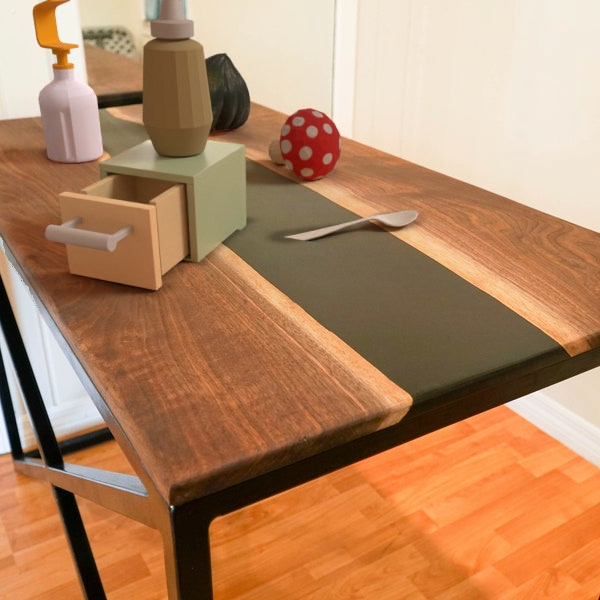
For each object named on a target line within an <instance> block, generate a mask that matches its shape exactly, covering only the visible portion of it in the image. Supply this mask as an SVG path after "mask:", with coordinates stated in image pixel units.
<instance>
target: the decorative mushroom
mask: <svg viewBox="0 0 600 600" xmlns="http://www.w3.org/2000/svg"><path fill="white" fill-rule="evenodd" d="M341 151H342V138H341V133H340V131H339V129H338V127H337V125H336V124H335V122H334V121H333V120H332V118H331V117H329V116H328V115H327V114H326V113H325V112H323V111H320V110H317V109H314V108H311V107H309V108H300V109H297V110H296V111H295V112H293V113H292V114H290V115H289V116H288V117H287V118H286V120H285V122H284V124H283V126H282V127H281V129H280V135H279V137H277V138H274V139H273V140H271V142H270V144H269V146H268V156H269V158H270V159H271V161H272V162H273V163H275V164H277V165H284V164H285V165H286V167H287V169H288V170H289V171H291V172H292V173H293V174H295V176H297V177H299V178H301V179H305V180H308V181H315V180H320V179H323V178H325V176H327V175H328V174H330V173H331V172H332V171H334V169H335V167H336V166H337V163H338V161H339V160H340V156H341Z"/></svg>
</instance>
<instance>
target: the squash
mask: <svg viewBox="0 0 600 600" xmlns="http://www.w3.org/2000/svg"><path fill="white" fill-rule="evenodd" d="M205 64H206V71H207V79H208V86H209V93H210V100H211V108H212V115H213V121H212V125H211V128H210V132H209V134H210V133H213V132H214V131H215V130H216V131H219V132H220V131H226V130H227V131H233V130H237V129H239V128H241V127H242V126H244V125H245V124H246V122H247V121H248V119H249V116H250V112H251V96H250V91H249V87H248V85H247V83H246V81H245V78H244V77H243V75H242V74H241V73H240V71H239V70H238V69H237V67H236V66H235V64H234V62H233V61H232V59H231V58H230V57H229V55H228V53H227V52H223V53H216V54H212V55H210V56H208V57H206V58H205Z"/></svg>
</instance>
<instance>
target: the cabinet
mask: <svg viewBox="0 0 600 600" xmlns="http://www.w3.org/2000/svg"><path fill="white" fill-rule="evenodd" d="M246 158H247V157H246V144H245V143H244V144H242V143H236V142H228V141H219V140H212V139H207V143H206V146H205V150H204V151H203V152H201V153H199V154H195V155H191V156H167V155H162V154H159V153H157V152H156V151H155V150H154V147H153V145H152V143H151V140H150V139H147V140H145V141H144V142H141V143H139V144H136V145H135V146H133V147H130V148H128V149H126V150H124V151H122V152H120V153H118V154H115V155H114V156H111V157H109V158H107V159H105V160H102V161H100V162H98V169H99V180H102V179H104V178H106V177H108V176H110V175H112V174H114V173H119V174H125V175H132V176H139V177H146V178H153V179H160V180H166V181H173V182H180V183H187V199H188V216H189V232H190V249H191V252H190V253H189V254H188V255H187V256H186V257H184V258H183V259H182V260H183V261H187V262H193V263H199V262H201V261H202V260H203V259H204V258H205V257H206V256H208V255H209V254H210V253H211V252H212V251H213V250H215V249H216V248H217V247H218V246H219V245H221V243H223V242H224V241H225V240H226V239H227V238H228V237H230V236H231V235H232V234H233V233H234V232H235V231H237V230H239V231H242V230H243V229H244V228H245V227H247V169H246V167H247V166H246V165H247V164H246V163H247V161H246V160H247V159H246ZM182 260H181V261H182Z"/></svg>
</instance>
